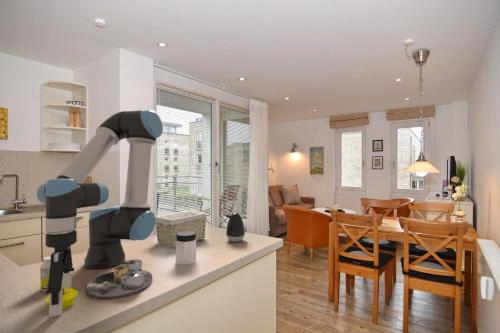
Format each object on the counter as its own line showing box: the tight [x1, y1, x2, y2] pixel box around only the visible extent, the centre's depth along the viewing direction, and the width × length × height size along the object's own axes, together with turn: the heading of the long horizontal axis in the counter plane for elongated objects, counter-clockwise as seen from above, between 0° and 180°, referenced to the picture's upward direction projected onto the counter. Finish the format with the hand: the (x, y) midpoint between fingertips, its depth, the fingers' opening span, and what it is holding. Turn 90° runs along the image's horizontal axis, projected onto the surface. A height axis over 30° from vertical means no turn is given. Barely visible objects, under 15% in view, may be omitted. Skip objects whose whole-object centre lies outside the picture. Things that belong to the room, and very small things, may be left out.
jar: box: [175, 231, 197, 266], centre depth 115 cm, size 9×8×12 cm
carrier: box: [86, 259, 153, 300], centre depth 93 cm, size 20×20×6 cm
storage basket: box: [155, 209, 207, 248], centre depth 146 cm, size 24×16×15 cm
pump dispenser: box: [225, 212, 246, 243], centre depth 146 cm, size 10×10×15 cm
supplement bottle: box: [39, 255, 56, 292], centre depth 90 cm, size 6×6×10 cm
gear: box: [44, 287, 79, 309], centre depth 80 cm, size 8×4×8 cm
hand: (61, 303), depth 79 cm, fingers open, 13 cm apart
